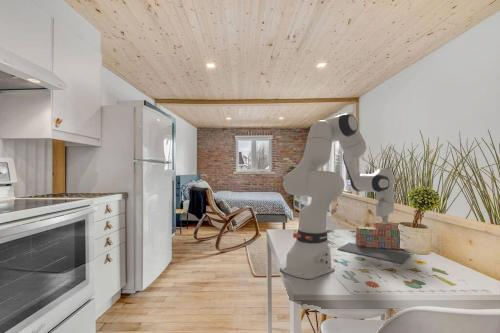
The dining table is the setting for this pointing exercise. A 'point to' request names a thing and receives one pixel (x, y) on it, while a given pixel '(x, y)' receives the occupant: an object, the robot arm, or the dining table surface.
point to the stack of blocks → (379, 235)
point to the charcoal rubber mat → (375, 253)
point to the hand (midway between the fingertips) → (385, 222)
